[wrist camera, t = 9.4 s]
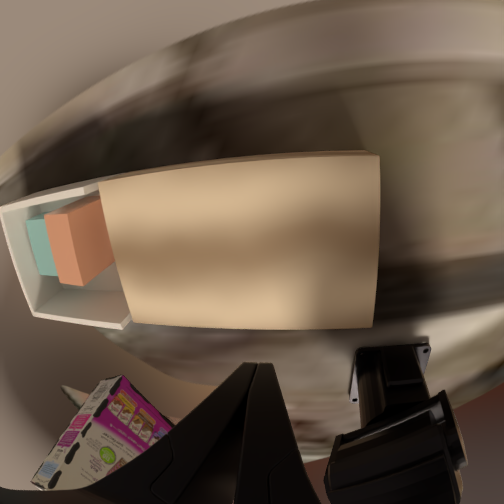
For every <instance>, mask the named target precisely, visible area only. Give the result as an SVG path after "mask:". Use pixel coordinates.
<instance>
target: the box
mask: <svg viewBox="0 0 504 504" xmlns="http://www.w3.org/2000/svg"><path fill="white" fill-rule="evenodd" d="M121 174H124V173H120V174H115V175H110V176H105V177H100V178H95V179H90V180H85V181H81V182H76V183H72V184H68V185H63V186H59V187H55V188H51V189H47V190H43V191H39V192H36V193H33V194H31V195H28V196H25V197H23V198H20V199H18V200H15V201H13V202H10V203H8V204H5V205H3V206H0V218H1V222H2V226H3V230H4V234H5V237H6V241H7V244H8V247H9V251H10V254H11V258H12V261H13V264H14V267H15V270H16V273H17V275H18V278H19V281H20V284H21V287H22V289H23V292H24V295H25V297H26V300H27V302H28V305H29V307H30V309H31V312H32V314H33V316H35V317H40V318H46V319H52V320H58V321H64V322H70V323H77V324H84V325H90V326H97V327H105V328H113V329H121V330H123V329H124V327H125V326H126V325H127V324H128V323H129V321H130V320H131V319H132V316H131V313H130V310H129V307H128V303H127V300H126V297H125V294H124V290H123V287H122V284H121V280H120V277H119V273H118V269H117V266H116V262H113V263H112V264H111V265H110V266H108V267H107V268H106V269H105V270H103V271H102V272H101V273H100V274H98V275H97V276H96V277H95V278H93V279H92V280H91V281H90V282H88V283H87V284H86V285H85V286H77V285H70V284H64V283H60V281H59V277H58V276H48V275H40V274H39V270H38V267H37V264H36V260H35V257H34V253H33V249H32V246H31V242H30V238H29V234H28V230H27V225H26V220H28V219H30V218H32V217H34V216H36V215H39V214H41V213H43V212H51V211H54V210H56V209H58V208H60V207H63V206H65V205H67V204H70V203H72V202H74V201H77V200H79V199H82V198H84V197H87V196H98V195H100V192H99V187H98V182H100V181H103V180H106V179H109V178H112V177H115V176H118V175H121Z"/></svg>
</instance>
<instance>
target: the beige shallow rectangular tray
mask: <svg viewBox="0 0 504 504" xmlns="http://www.w3.org/2000/svg"><path fill="white" fill-rule="evenodd" d="M98 187H99V192H100V198H101V203H102V207H103V212H104V217H105V221H106V226H107V230H108V234H109V239H110V243H111V247H112V251H113V255H114V258H115V262H116V266H117V269H118V273H119V277H120V280H121V284H122V287H123V290H124V294H125V297H126V300H127V303H128V307H129V310H130V313H131V316H132V319H133V322H136V323H147V324H159V325H173V326H189V327H207V328H231V329H282V330H299V329H350V328H372V324H373V315H374V306H375V296H376V285H377V272H378V257H379V236H380V156H378V155H376V154H373V153H371V152H368V151H366V150H352V151H315V152H295V153H279V154H265V155H253V156H242V157H232V158H222V159H213V160H205V161H197V162H189V163H182V164H175V165H168V166H161V167H155V168H149V169H143V170H137V171H131V172H128V173H124V174H121V175H118V176H115V177H112V178H109V179H106V180H103V181H100V182H98Z"/></svg>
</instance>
